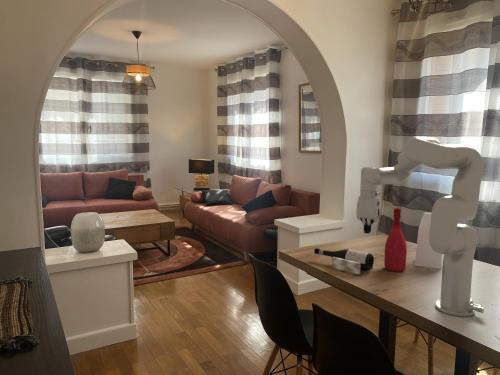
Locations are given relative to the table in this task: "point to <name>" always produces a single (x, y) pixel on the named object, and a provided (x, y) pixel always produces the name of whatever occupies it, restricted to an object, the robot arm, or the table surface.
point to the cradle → (347, 266)
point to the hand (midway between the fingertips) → (367, 232)
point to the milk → (426, 246)
